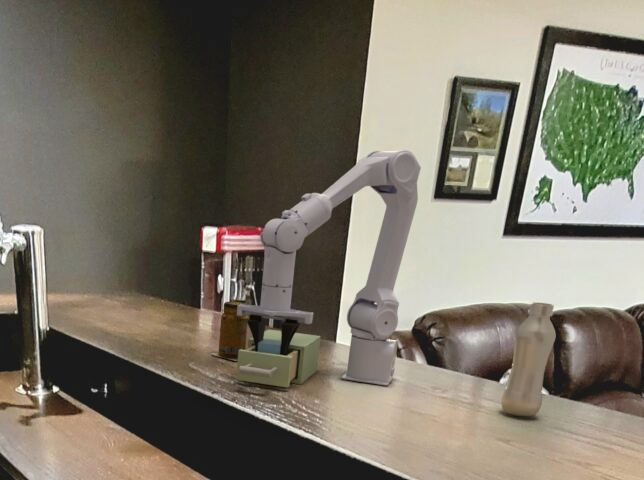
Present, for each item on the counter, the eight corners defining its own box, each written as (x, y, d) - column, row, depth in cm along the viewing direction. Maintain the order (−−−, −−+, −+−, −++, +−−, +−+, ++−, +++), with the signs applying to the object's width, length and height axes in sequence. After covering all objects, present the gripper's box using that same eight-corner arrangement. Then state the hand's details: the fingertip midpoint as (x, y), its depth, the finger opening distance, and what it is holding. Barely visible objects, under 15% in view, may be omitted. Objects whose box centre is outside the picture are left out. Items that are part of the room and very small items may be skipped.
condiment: (232, 351, 169) (236, 300, 165) (258, 359, 163) (262, 305, 159) (209, 354, 165) (212, 301, 161) (234, 362, 159) (238, 307, 155)
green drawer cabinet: (300, 384, 143) (304, 346, 141) (245, 376, 147) (248, 339, 145) (316, 371, 155) (320, 336, 153) (265, 363, 159) (268, 329, 157)
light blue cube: (284, 363, 143) (286, 341, 141) (278, 367, 139) (280, 345, 137) (263, 360, 144) (265, 338, 143) (256, 364, 140) (258, 342, 139)
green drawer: (279, 394, 132) (283, 362, 130) (226, 385, 135) (228, 355, 133) (304, 374, 147) (307, 346, 145) (255, 367, 151) (258, 340, 149)
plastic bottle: (542, 422, 127) (568, 308, 121) (502, 417, 128) (525, 304, 122) (533, 412, 133) (558, 303, 127) (495, 408, 134) (517, 300, 128)
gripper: (233, 283, 135) (228, 354, 140) (309, 291, 130) (301, 365, 135) (246, 280, 141) (240, 348, 146) (318, 287, 136) (310, 358, 141)
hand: (270, 356), depth 141 cm, fingers closed on light blue cube, 4 cm apart
